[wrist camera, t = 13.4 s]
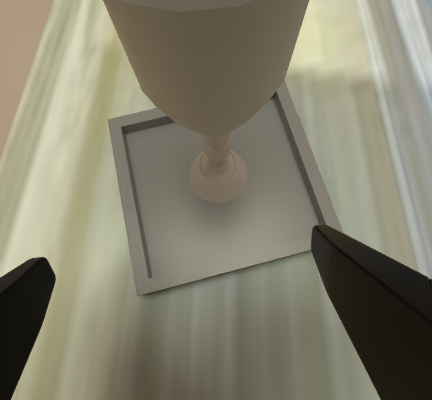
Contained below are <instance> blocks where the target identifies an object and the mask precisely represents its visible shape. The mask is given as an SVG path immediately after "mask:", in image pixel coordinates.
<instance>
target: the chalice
mask: <svg viewBox="0 0 432 400" xmlns="http://www.w3.org/2000/svg"><path fill="white" fill-rule="evenodd" d="M103 1H104V3H105V6H106V8H107V10H108V13H109V15H110V17H111V19H112V22H113V24H114V26H115V29H116V31H117V33H118V36H119V38H120V40H121V43H122V45H123V47H124V50H125V52H126V54H127V56H128V59H129V61H130V63H131V66H132V68H133V70H134V73H135V75H136V77H137V80H138V82H139V84H140V87H141V89H142V91H143V92H144V93H145V94H146V96H147V97H148V98H149V99H150V100H151V101H152V102H153V103H154V105H155V106H156V107H157V108H159V109H160V110H161V111H162V112H163V113H165V114H166V115H167V116H168V117H170V118H171V119H172V120H173V121H175V122H176V123H178V124H180V125H182V126H183V127H185V128H187V129H189V130H191V131H194V132H196V133H199V134H201V135H203V138H204V141H205V143H206V145H205V148H204V151H203V152H201V153H200V154H199V155H198V156H197V157H196V159H195V160H194V161H193V163H192V164H191V167H190V170H189V182H190V185H191V187H192V189H193V191H194V192H195V193H196V194H197V196H199V197H200V198H202V199H203V200H205V201H208V202H212V203H225V202H228V201H230V200H233V199H234V198H236V197H237V196H238V195H239V194H241V192H242V191H243V189H244V188H245V186H246V183H247V179H248V173H247V167H246V165H245V163H244V161H243V160H242V159H241V157H240V156H239V155H238V154H236V153H235V152H234V151H233V150H231V149H230V146H229V143H228V140H229V137H230V134H229V133H230V132H232V131H233V130H235V129H236V128H238V127H240V126H241V125H242V124H244V123H245V122H247V121H248V120H249V119H251V118H252V117H254V116H255V115H256V114H257V112H258V111H259V110H260V109H261V108H262V107H263V106H264V105H265V104H266V103H267V102H268V100H269V99H270V98H271V97H272V96H273V94H274V93H275V92H276V90H277V89H278V88H279V86H280V85H281V84H282V83H283V81H284V79H285V76H286V73H287V70H288V66H289V63H290V60H291V57H292V54H293V50H294V47H295V44H296V41H297V37H298V34H299V31H300V28H301V25H302V21H303V18H304V15H305V12H306V9H307V5H308V2H309V0H103Z"/></svg>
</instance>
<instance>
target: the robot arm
mask: <svg viewBox="0 0 432 400" xmlns="http://www.w3.org/2000/svg"><path fill="white" fill-rule="evenodd" d="M311 251H312V254H313V257H314V259H315V262H316V265H317V268H318V270H319V273H320V276H321V278H322V281H323V284H324V286H325V289H326V291H327V294H328V296H329V298H330V300H331V302H332V304H333V306H334V308H335V310H336V312H337V314H338V316H339V318H340V320H341V321H342V323H343V325H344V327H345V329H346V331H347V333H348V335H349V337H350V339H351V341H352V343H353V345H354V347H355V349H356V351H357V353H358V355H359V357H360V359H361V361H362V363H363V365H364V367H365V369H366V371H367V373H368V375H369V377H370V379H371V381H372V383H373V385H374V387H375V389H376V391H377V393H378V395H379V397H380V399H381V400H432V279H429V278H428V277H427V276H425V275H423V274H421V273H419V272H417V271H415V270H413V269H411V268H409V267H407V266H405V265H403V264H401V263H400V262H398V261H396V260H394V259H392V258H390V257H388V256H386V255H384V254H382V253H380V252H378V251H376V250H374V249H373V248H371V247H369V246H367V245H365V244H363V243H361V242H359V241H357V240H355V239H353V238H351V237H349V236H347V235H346V234H344V233H342V232H340V231H338V230H336V229H334V228H332V227H330V226H328V225H326V224H322V225H315V226H314V227H313V228H312V236H311ZM55 281H56V277H55V274H54V272H53V270H52V268H51V266H50V264H49V262H48V260H47V259H46V258H45V257H38V258H31V259H29V260H28V261H26V262H24V263H23V264H21V265H20V266H18V267H16V268H15V269H13V270H12V271H10V272H8V273H7V274H5V275H4V276H2V277H1V278H0V400H11V398H12V396H13V393H14V391H15V389H16V386H17V384H18V381H19V379H20V377H21V374H22V372H23V370H24V367H25V365H26V362H27V360H28V358H29V355H30V353H31V351H32V348H33V346H34V343H35V341H36V339H37V336H38V334H39V331H40V329H41V326H42V324H43V321H44V318H45V314H46V311H47V308H48V305H49V301H50V298H51V295H52V291H53V288H54V285H55Z"/></svg>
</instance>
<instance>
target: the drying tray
mask: <svg viewBox="0 0 432 400" xmlns="http://www.w3.org/2000/svg"><path fill="white" fill-rule="evenodd" d="M108 124H109V130H110V136H111V142H112V148H113V154H114V160H115V166H116V172H117V177H118V183H119V189H120V195H121V201H122V207H123V213H124V219H125V225H126V231H127V237H128V243H129V249H130V255H131V260H132V266H133V272H134V278H135V284H136V290H137V296H140V295H144V294H148V293H152V292H156V291H159V290H163V289H167V288H171V287H174V286H178V285H182V284H186V283H189V282H193V281H197V280H201V279H204V278H208V277H212V276H216V275H219V274H223V273H227V272H231V271H234V270H238V269H242V268H246V267H249V266H253V265H257V264H261V263H264V262H268V261H272V260H276V259H279V258H283V257H287V256H291V255H294V254H298V253H302V252H306V251H309V250H311V236H312V228H313V227H314V226H315V225H322V224H326V225H328V226H330V227H332V228H334V229H336V230H338V231H340V232H342V233H343V231H342V229H341V226H340V224H339V221H338V218H337V216H336V213H335V211H334V208H333V205H332V203H331V200H330V198H329V195H328V192H327V190H326V187H325V185H324V182H323V179H322V177H321V174H320V172H319V169H318V166H317V164H316V161H315V159H314V156H313V154H312V151H311V148H310V146H309V143H308V141H307V138H306V135H305V133H304V130H303V128H302V125H301V122H300V120H299V117H298V115H297V112H296V109H295V107H294V104H293V102H292V99H291V96H290V94H289V91H288V89H287V86H286V83H285V81H283V83H282V84H281V85H280V86H279V88H278V89H277V90H276V92H275V93H274V94H273V96H272V97H271V98H270V99H269V100H268V102H267V103H266V104H265V105H264V106H263V107H262V108H261V109H260V110H259V111H258V112H257V114H256V115H255V116H254V117H252V118H251V119H249V120H248V121H247V122H245V123H244V124H242V125H241V126H240V127H238V128H236V129H235V130H233V131H232V132H230V133H229V134H230V137H229V140H228V143H229V146H230V149H231V150H233V151H234V152H235V153H236V154H238V155H239V156H240V157H241V159H242V160H243V161H244V163H245V165H246V167H247V173H248V179H247V183H246V186H245V188H244V189H243V191H242V192H241V194H239V195H238V196H237V197H236V198H234V199H233V200H230V201H228V202H225V203H212V202H208V201H205V200H203V199H202V198H200V197H199V196H197V194H196V193H195V192H194V191H193V189H192V187H191V185H190V182H189V170H190V167H191V164H192V163H193V161H194V160H195V159H196V157H197V156H198V155H199V154H200V153H201V152H203V151H204V148H205V145H206V143H205V141H204V138H203V135H201V134H199V133H196V132H194V131H191V130H189V129H187V128H185V127H183V126H182V125H180V124H178V123H176V122H175V121H173V120H172V119H171V118H170V117H168V116H167V115H166V114H165V113H163V112H162V111H161V110H160V109H159V108H155V109H151V110H146V111H142V112H138V113H134V114H129V115H125V116H121V117H117V118H112V119H108Z"/></svg>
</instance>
